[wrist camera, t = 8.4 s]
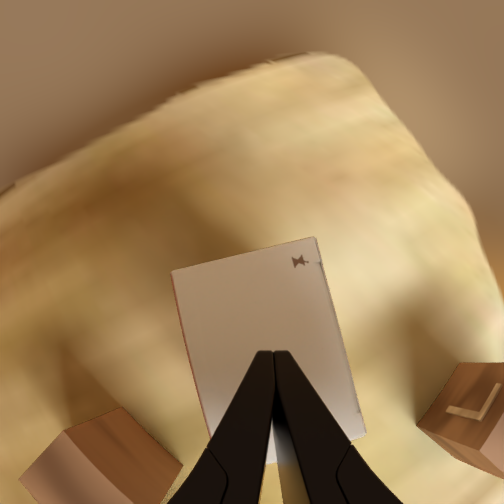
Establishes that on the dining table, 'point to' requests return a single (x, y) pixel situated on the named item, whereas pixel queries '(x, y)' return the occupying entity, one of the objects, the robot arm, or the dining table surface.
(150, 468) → the walnut block one
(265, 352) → the robot arm
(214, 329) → the small box
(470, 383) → the walnut block seven
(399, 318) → the dining table surface
